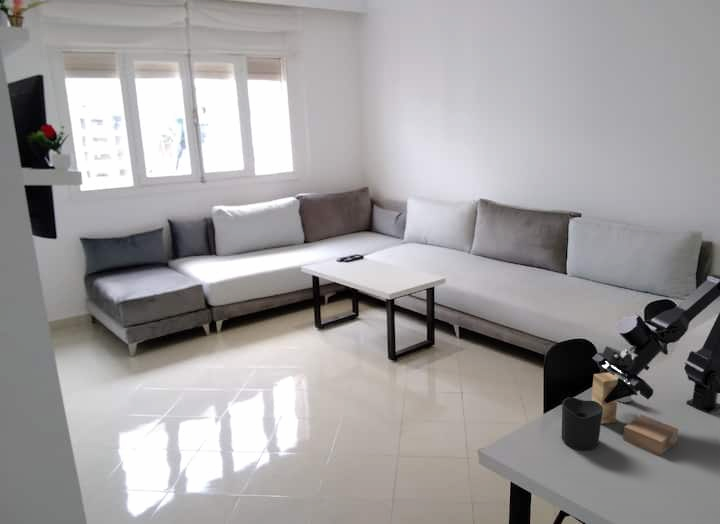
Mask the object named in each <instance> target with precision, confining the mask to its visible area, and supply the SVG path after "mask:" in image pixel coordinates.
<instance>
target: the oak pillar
mask: <svg viewBox="0 0 720 524" xmlns="http://www.w3.org/2000/svg"><path fill="white" fill-rule="evenodd" d="M592 377H593V379H592V389H591V400H590V401H596V402H598V403H599V404H600V405H601V406H602V408H603V412H602V420H601V425H604V423H606V424H612V423H616V419H617V416H616V415H617V409H618V407H617V406H618V401H617V400H615V401H612V402H609V403H606V402H605V401H604V400H605V398H606V397H607V396H608V394H609V393H610V392H611V391H612V390H613V389H614V388H615V387H616V385H617V382H618V378H619V377H618V378H617V377H616V376H615V375H614V376H613V375H612V374H610V373H609V372H608V373H600V372H599V373H594V374H593V376H592Z"/></svg>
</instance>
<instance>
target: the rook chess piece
mask: <svg viewBox="0 0 720 524" xmlns="http://www.w3.org/2000/svg"><path fill="white" fill-rule="evenodd" d="M618 378H620V379H622V380H623V381H624V379H623V378H621V377H620V376H618ZM619 401H620V402H619ZM631 401H632V395H631V396H627V397H624V398H621V399H618V401H617V402H619V403H623V402H624V404H626V402H628V403H630V402H631Z"/></svg>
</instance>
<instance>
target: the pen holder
mask: <svg viewBox="0 0 720 524" xmlns="http://www.w3.org/2000/svg"><path fill="white" fill-rule="evenodd" d="M602 412H603V408H602V406H601V405H600V404H599V403H598V402H596V401H591V400H583V399H579V398H576V397H574V396H573V397H566V398H565V399H563V401H562V402H561V441H563V442H564V444H565V445H567V446H568V447H570V448H572V449H575V450H578V451H579V450H580V451H591V450H594V449H595V448H596V447H598V445H599V440H600V433H601V426H602V424H601V420H602Z"/></svg>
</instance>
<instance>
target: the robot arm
mask: <svg viewBox="0 0 720 524" xmlns="http://www.w3.org/2000/svg"><path fill="white" fill-rule="evenodd" d="M719 297H720V274H719V273H718V274H714V273H713V274H709V275H708V276H707V277H706V279H705V281H704V282H703V283H702V284H700V285H699V286H698V287H697V288H696V289H695V290H694V291H692V292H691V293H690V294H689V295H687V297H686V298H684V299H683V300H681V302H679V304H677V305H676V306H675V307H673V308H671V309H668V310H664V311H662V312H660V313H659V314H657V315H655V316H654V317H653V318H651V319H647V320H643V318H642V317H641V316H640V315H639V314H637V313H633V314H632V315H630V316H625V317H624V318H622V319H620V320H618V322H617V323H616V326H615V330H616V331H617V333H618V334H619V335H620V336H621V337H622V338H623V339H624V340H625V341H626V342H627V343H628V344H629V346H631V347H630V348H629V349H628V348H624V349H622V350H621V351H620V350H618V349H615V348H614V347H610V346H608V345H606V346H605V348H604V350H603V352H597V353H595V355H593V357H592V360H594V362H596V363H597V364H598V365H597V367H598V368H599V374H600V373H608V372H609V373H610V374H612V375H613V376H615V375H616V376H618V382H617V385H616V387H615V388H614V389H613V390H612V391H611V392H610V393H609V394H608V396H607V397H606V398H605V400H604V401H605V402H606V403H609V402H612V401H615V400H618V399H621V398H624V397H627V396H631V397H632V396H634V395H635V396H638V395H641V396H642V397H644V398H645V399H647V400H649V399H650V398H651V397H652V396H653V395H654V388H652V386H650V384H648V383H647V382H646V380H645V379H643V378H641V377H639V374H640V373H642V371H643V370H645V371H649V370H650V366H649V364H650V363H651V362H652V361H653V360H654V359H655V358H656V356H658V355H659V354H660V353H662V354H663V355H666V356H667V355H668V353H669V351H668V344H667V343H672V344H673V343H677V342H678V341H680V339H682V337H683V336H684V335H685V334H686V333H687V331H688V329H689V325H690V323H691V321H693V320H694V319H695V317H697V316H698V315H700V314H701V313H702V312H703V311H704V310H705V309H706V308H708V306H710V305H711V304H712V303H713V302H715V301H716V300H717V299H718V298H719ZM651 335H652V336H651ZM659 339H660V340H663V341H664V342H663V341H660V340H659ZM665 342H667V343H665ZM684 364H685V366H684V370H685V374H686V375H687V379H688V381H691V382H693V383H694V384H693V385H694V387H693V394H692V398H691V399H689V400H686V404H687V405H690V406H692V407H694V408H697V409H699V410H702V411H704V412H706V413H712V412H714V411H716V410H718V409H720V403H719V402H718V396H719V395H718V394H720V312H718V315H717V317H716V319H715V320H714V323H713V325H712V327H711V328H710V331H709V333H708V336H707V337H706V340H705V341H704V343H703V346H702V348H701V347H700V349H698V350H697V351H693V350H691V351H690V352H689V354H688V356H687V359H686V360H685V361H684ZM619 376H620V377H621V378H623V379H624V381H623V380H622V379H620V378H619ZM638 392H639V394H638Z"/></svg>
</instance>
